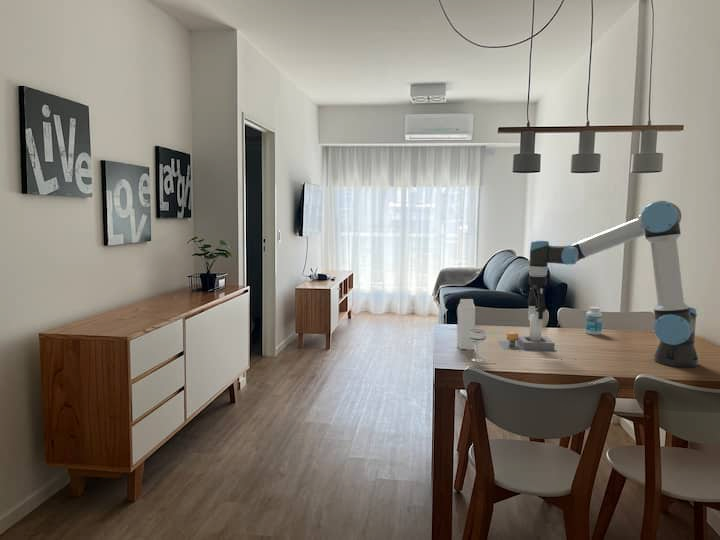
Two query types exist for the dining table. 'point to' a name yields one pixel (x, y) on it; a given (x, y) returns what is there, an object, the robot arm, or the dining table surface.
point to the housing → (528, 344)
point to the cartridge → (534, 329)
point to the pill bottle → (593, 321)
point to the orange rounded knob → (512, 336)
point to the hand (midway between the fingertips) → (535, 323)
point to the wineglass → (477, 340)
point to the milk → (465, 323)
